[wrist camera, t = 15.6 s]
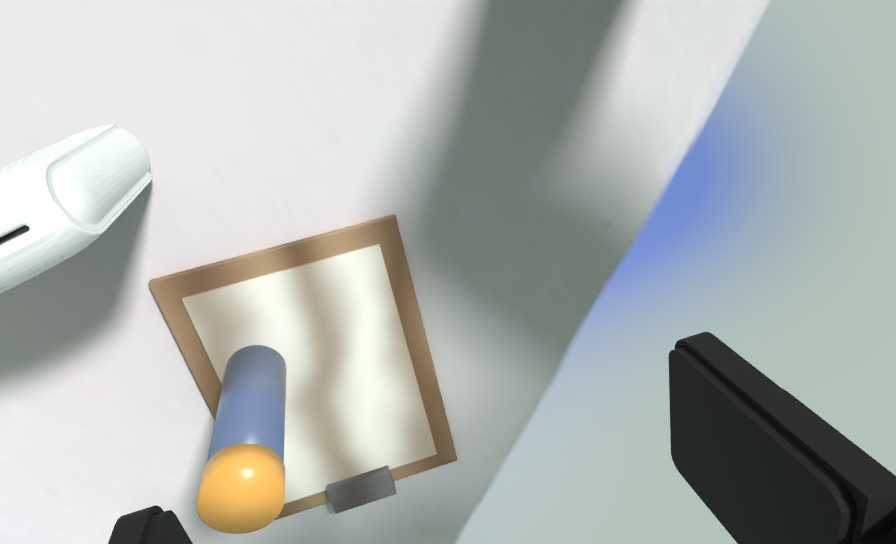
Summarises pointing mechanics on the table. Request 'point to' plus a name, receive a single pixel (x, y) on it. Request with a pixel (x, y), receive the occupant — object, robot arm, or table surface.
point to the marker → (247, 445)
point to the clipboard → (324, 357)
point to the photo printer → (66, 198)
